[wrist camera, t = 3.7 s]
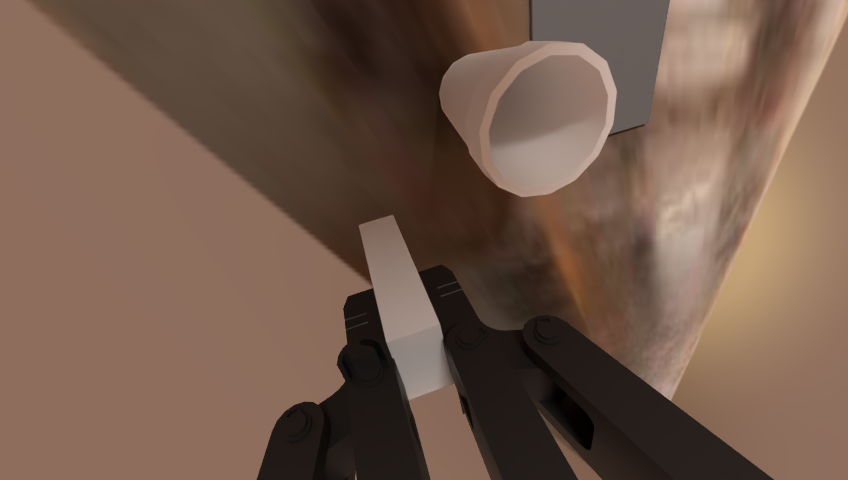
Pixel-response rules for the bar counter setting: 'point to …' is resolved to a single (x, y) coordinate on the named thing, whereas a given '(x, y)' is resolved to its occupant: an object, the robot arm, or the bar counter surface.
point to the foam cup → (531, 112)
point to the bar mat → (611, 44)
